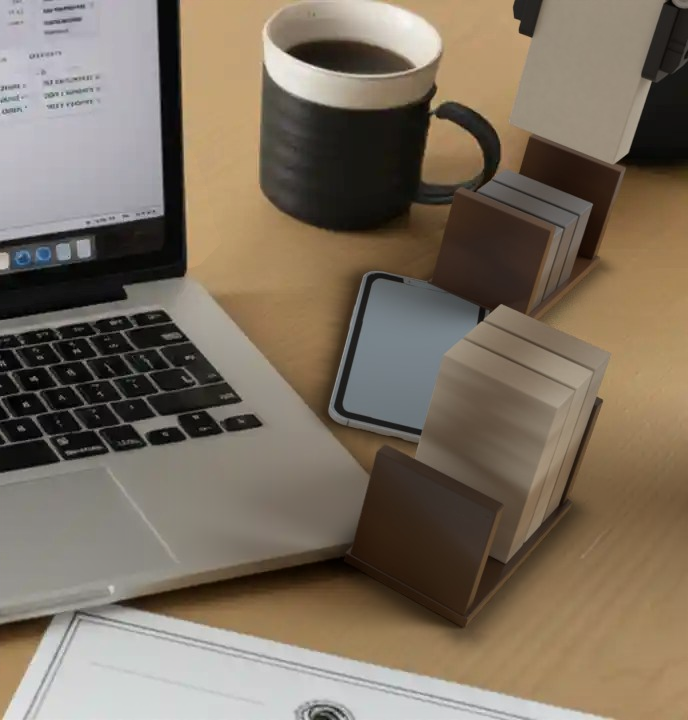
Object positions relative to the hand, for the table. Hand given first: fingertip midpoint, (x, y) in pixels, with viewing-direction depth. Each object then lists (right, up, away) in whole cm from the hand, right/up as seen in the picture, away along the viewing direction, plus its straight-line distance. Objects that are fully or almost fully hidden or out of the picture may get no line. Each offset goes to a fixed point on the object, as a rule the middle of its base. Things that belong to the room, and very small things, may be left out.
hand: (593, 51), depth 77 cm
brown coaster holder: (+2, -9, +21) cm, 23 cm away
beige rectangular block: (0, -4, +3) cm, 4 cm away
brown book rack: (-6, -23, +1) cm, 23 cm away
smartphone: (-6, -15, +13) cm, 20 cm away
